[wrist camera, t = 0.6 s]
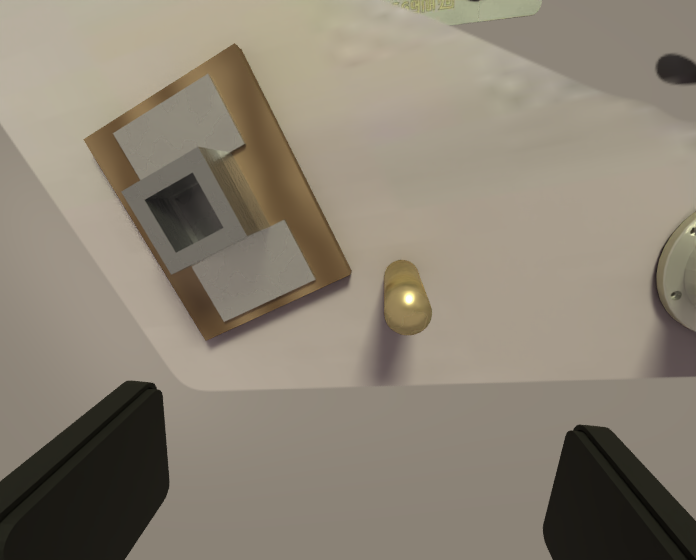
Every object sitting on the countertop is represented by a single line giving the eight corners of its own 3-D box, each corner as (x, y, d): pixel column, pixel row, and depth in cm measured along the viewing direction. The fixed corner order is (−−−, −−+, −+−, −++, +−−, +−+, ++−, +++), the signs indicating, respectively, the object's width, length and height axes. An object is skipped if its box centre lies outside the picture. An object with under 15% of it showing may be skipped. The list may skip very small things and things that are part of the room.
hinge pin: (410, 254, 34) (420, 283, 25) (424, 284, 35) (439, 324, 25) (378, 268, 35) (376, 302, 25) (393, 298, 36) (396, 342, 26)
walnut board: (241, 49, 31) (234, 43, 30) (351, 270, 35) (350, 274, 34) (96, 141, 34) (83, 139, 33) (212, 334, 38) (205, 340, 37)
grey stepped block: (210, 74, 31) (169, 50, 25) (316, 278, 34) (302, 298, 29) (116, 133, 33) (58, 124, 27) (225, 320, 36) (195, 347, 30)
